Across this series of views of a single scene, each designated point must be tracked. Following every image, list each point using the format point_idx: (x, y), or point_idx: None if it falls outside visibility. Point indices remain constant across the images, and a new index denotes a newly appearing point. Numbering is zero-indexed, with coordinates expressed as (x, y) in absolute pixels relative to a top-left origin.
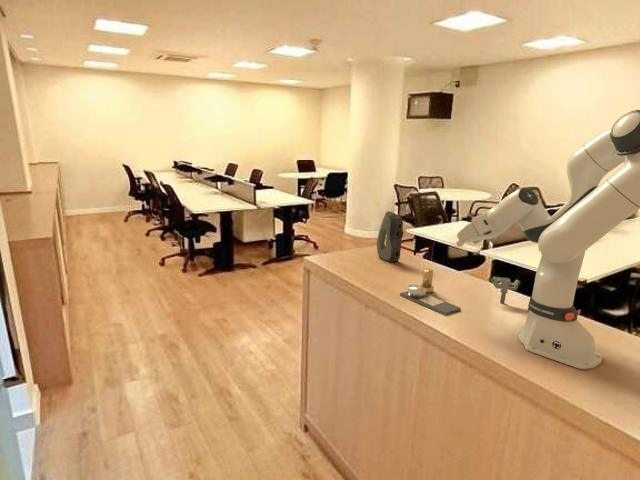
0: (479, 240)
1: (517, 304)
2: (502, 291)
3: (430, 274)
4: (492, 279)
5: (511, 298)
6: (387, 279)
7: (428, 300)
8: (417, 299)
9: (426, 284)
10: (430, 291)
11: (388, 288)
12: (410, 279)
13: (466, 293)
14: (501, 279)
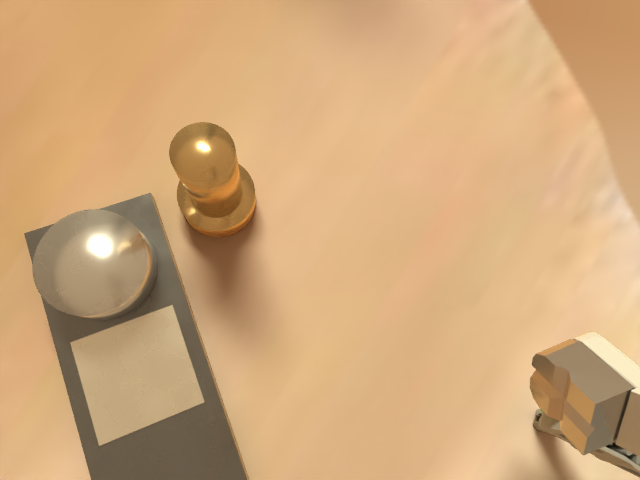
0: (635, 444)
1: None
2: None
3: (202, 189)
4: None
5: None
6: (99, 20)
7: (122, 365)
8: (67, 339)
9: (196, 205)
10: (220, 233)
11: (26, 135)
12: (226, 41)
13: (422, 266)
14: None
